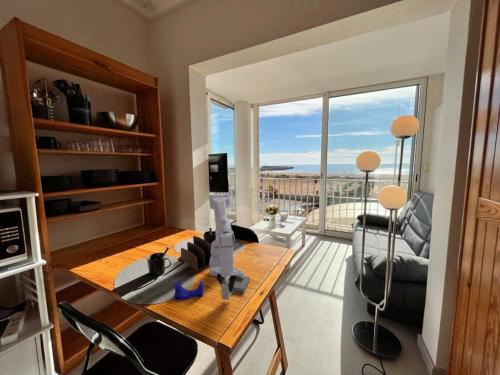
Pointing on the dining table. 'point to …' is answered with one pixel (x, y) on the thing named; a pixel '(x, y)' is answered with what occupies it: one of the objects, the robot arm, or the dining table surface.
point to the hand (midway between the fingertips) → (227, 290)
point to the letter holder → (197, 254)
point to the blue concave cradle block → (188, 292)
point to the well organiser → (241, 284)
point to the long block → (226, 288)
